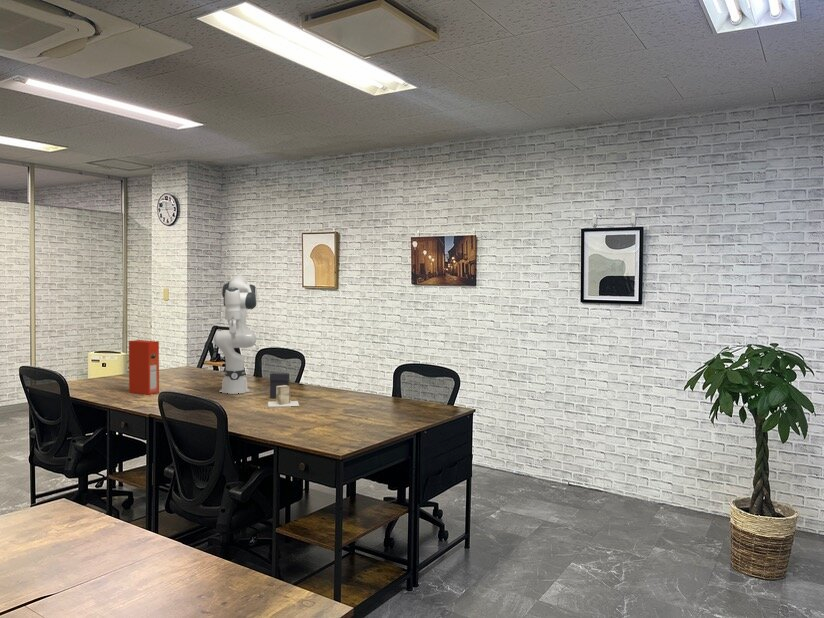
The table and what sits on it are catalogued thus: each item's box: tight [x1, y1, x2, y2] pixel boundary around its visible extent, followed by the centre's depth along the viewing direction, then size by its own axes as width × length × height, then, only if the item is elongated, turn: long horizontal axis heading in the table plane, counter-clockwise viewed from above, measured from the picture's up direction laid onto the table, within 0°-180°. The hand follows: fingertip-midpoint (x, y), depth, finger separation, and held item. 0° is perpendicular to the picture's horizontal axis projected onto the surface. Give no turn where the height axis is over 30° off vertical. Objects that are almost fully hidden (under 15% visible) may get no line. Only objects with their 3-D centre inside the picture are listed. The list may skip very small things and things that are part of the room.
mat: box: [267, 400, 300, 408], centre depth 364 cm, size 14×17×1 cm
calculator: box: [269, 372, 290, 399], centre depth 382 cm, size 11×4×15 cm, turn 84°
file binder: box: [128, 339, 160, 396], centre depth 391 cm, size 8×17×32 cm, turn 62°
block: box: [275, 385, 291, 405], centre depth 363 cm, size 5×6×10 cm
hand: (233, 339), depth 367 cm, fingers open, 8 cm apart
